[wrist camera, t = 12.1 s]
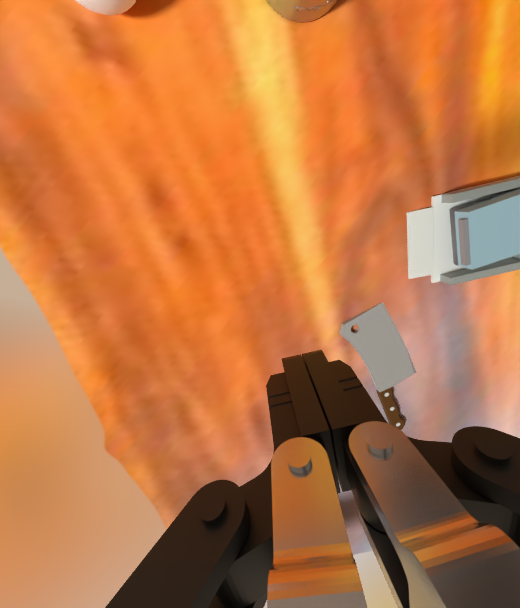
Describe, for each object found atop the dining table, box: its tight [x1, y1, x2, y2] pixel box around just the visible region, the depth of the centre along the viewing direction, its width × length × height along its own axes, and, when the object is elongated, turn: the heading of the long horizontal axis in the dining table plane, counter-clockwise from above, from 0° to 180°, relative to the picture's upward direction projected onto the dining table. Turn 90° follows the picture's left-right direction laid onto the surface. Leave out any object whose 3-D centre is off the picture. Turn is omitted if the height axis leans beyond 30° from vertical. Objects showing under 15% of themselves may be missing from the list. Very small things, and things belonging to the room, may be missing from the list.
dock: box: [407, 176, 520, 285], centre depth 35 cm, size 12×15×2 cm
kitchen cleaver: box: [339, 303, 416, 430], centre depth 43 cm, size 24×1×10 cm
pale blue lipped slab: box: [449, 187, 520, 270], centre depth 33 cm, size 7×10×4 cm
